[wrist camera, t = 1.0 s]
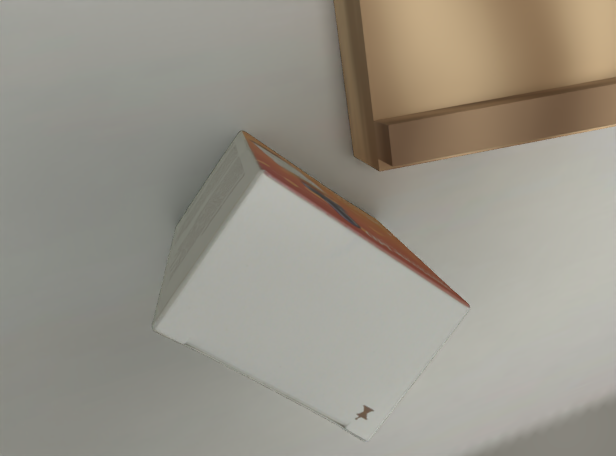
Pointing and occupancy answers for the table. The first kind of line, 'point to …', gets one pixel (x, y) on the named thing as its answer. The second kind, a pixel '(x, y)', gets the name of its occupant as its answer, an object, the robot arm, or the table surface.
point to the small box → (302, 291)
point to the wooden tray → (473, 74)
